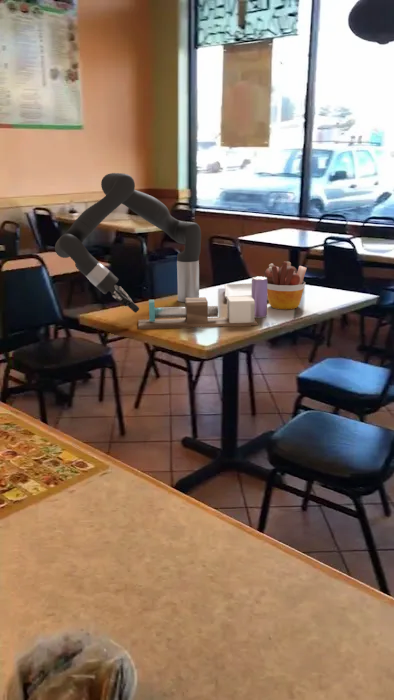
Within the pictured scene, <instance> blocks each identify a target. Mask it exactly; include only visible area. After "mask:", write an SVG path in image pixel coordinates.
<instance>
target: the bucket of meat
mask: <svg viewBox="0 0 394 700" xmlns="http://www.w3.org/2000/svg"><path fill="white" fill-rule="evenodd" d="M306 272H307V267H305V266H302V265H299V266H298V269H297V268H296V267H295V266H293V265H292V263H291V262H290V261H283V262H282V263H281V266H280V267H279V266H276V265H274V263H270V264H268V267H267V268H266V270H265V271H264V277H267V281H268V284H267V295H268V300H269V302H268V304H269V306H270V307H271V308H272V309H275V310H281V311H282V310H285V311H286V310H287V311H288V310H294V309H295V308H296V309H297V308H298V307H299V306H300V305H301V304H300V303H301V300H302V296H303V293H304V289H305V286H306V281H304V278H305V274H306Z"/></svg>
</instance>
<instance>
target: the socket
mask: <svg viewBox="0 0 394 700" xmlns="http://www.w3.org/2000/svg"><path fill="white" fill-rule="evenodd" d="M254 315H255V301H254V299H253V298H252V297H251V296H236V297H227V299H226V317H227V319H229V323H253V322H254V319H255V318H254Z"/></svg>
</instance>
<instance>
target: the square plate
mask: <svg viewBox="0 0 394 700" xmlns="http://www.w3.org/2000/svg"><path fill="white" fill-rule="evenodd" d="M236 296H252V282H251V283H231V284H229V283H228V284H227V283H226V284H224V297H225V299H226V300H227V297H236ZM267 303H269V300H268V295H267Z"/></svg>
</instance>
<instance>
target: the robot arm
mask: <svg viewBox="0 0 394 700" xmlns="http://www.w3.org/2000/svg"><path fill="white" fill-rule="evenodd" d="M100 186H101V190H102V192H103V194H104V195H105V196H104V197H103V198H101V199H100V200H98V201H97V202H95V203H94V204H92V205H91V206H89V207H88V208H86V209H85V210H83V212H82V213H81V214H80V215H79V216H78V217H77V218H76V219H75V221H74V222H73V223H72V224H71V226H70V228H68V230H67V231H65V232H64V233H63V235H61V236H60V237H59V238H58V239H57V241H56V242H55V245H54V251H55V254H56V255H58V256H59V257H60V258H63V259H67V258H70V259H71V260H72V261H73V263H75V268H76V269H77V270H78V271H79V272H80V273H81V274H82V275H83V276H84V277H86V278H87V280H89V282H90V283H91V284H92V285H93V286H94V287H96V288H97V289H98V290H99V292H101V293H102V294H104V295H106V294H108V293H109V292H110V293H111V297H112V298H114V299H115V300H116V302H118V303H120V304H122V305H123V306H124V307H128V308H129V309H130V310H131V311H133V312H134V313H138V311H140V307H139V305H137V304H136V303H135V302H134V301H133V300H132V298H131V296H130V295H129V294H128V293H127V292H126V291H125V289H124V288H122V286H119V285H117V283H118V282H119V278H118V277H117V276H116V275H115V273H113V272H112V271H111V270H109V269H108V267H106V266H105V265H104V264H102V263H101V262H99V260H97V258H96V257H94V256H93V255H92V254H91V253H90V252H89V251H88V249H87V248H86V247H85V245H84V244H83V242H84V241H85V240H87V238H88V237H90V236H91V235H92V233H93V232H94V231H95V230H96V228H98V226H99V225H100V224H101V223H102V222H103V221H104V220H105V219H106V218H107V217H108V216H109V215H110V214H111V213H113V212H114V211H115V210H116V209H117V208H119V207H120V205H123V206H125V207H126V208H128V209H129V210H131V211H132V212H133V213H135V214H136V215H138V216H139V217H140V218H142V219H143V220H144V221H147V222H148V223H149V224H150V225H153V226H155V227H156V228H158V229H159V230H161V231H163V232H164V233H166V235H167V236H168V237H170V239H172V240H174V241H175V242H176V243H178V244H180V245H181V244H182V245H184V250H183V251H181V252H178V253H177V255H176V260H177V261H176V269H177V270H176V272H177V275H176V276H177V277H176V280H177V301H178V302H180V303H181V302H182V303H185V298H200V264H199V263H200V254H201V249H202V248H201V247H202V246H201V243H202V230H201V227H200V225H199V224H198V223H197V222H192V221H191V222H190V221H181V220H179V219H177V218H175V217H174V216H172V215H171V212H170V210H169V209H168V207H167V206H166V205H165V204H164V203H163V202H162V201H161V200H159V199H158V198H156V197H154V196H152V195H149V194H148V193H145V192H143V191H140V190H136V189H135V188H136V185H135V180H134V178H133V177H132V176H131V175H130V174H128V173H127V174H126V173H123V172H122V173H119V172H111V173H107V174H106V175H104V176H103V177H102V180H101V183H100Z"/></svg>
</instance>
